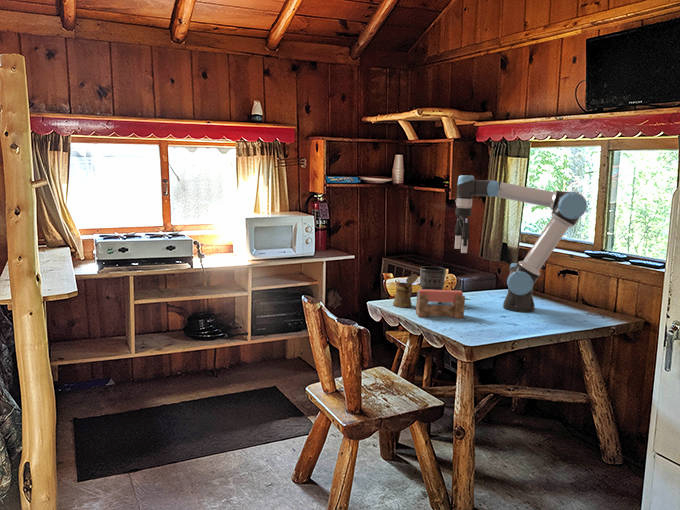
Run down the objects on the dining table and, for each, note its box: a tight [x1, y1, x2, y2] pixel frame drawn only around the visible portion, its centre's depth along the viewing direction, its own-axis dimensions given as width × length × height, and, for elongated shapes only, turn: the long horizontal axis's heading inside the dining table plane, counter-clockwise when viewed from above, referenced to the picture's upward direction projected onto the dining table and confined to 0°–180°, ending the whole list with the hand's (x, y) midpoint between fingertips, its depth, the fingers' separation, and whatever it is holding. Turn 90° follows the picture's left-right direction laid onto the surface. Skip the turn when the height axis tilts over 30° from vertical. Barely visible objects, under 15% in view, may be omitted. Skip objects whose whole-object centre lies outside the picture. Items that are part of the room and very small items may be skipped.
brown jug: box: [392, 272, 419, 309], centre depth 291 cm, size 9×14×18 cm, turn 30°
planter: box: [419, 265, 447, 305], centre depth 303 cm, size 13×13×18 cm
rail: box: [417, 288, 464, 304], centre depth 276 cm, size 20×4×5 cm, turn 92°
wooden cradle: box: [415, 290, 466, 320], centre depth 277 cm, size 21×7×10 cm, turn 92°
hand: (460, 250), depth 290 cm, fingers open, 13 cm apart
